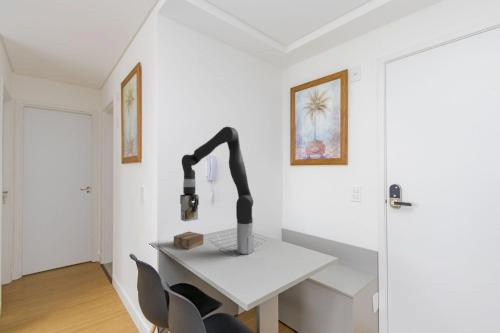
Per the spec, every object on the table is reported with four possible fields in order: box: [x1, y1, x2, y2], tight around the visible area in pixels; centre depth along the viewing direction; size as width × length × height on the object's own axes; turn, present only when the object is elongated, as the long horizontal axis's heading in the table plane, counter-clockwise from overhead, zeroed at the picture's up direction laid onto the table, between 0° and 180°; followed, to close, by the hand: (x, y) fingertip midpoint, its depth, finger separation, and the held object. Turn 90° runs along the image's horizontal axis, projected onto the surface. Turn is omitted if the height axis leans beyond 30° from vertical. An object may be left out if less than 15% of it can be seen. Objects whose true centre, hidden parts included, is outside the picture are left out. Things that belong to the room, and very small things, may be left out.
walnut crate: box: [173, 231, 204, 251], centre depth 153 cm, size 13×13×6 cm
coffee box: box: [180, 193, 199, 222], centre depth 153 cm, size 9×6×16 cm
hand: (189, 211), depth 153 cm, fingers closed on coffee box, 7 cm apart
